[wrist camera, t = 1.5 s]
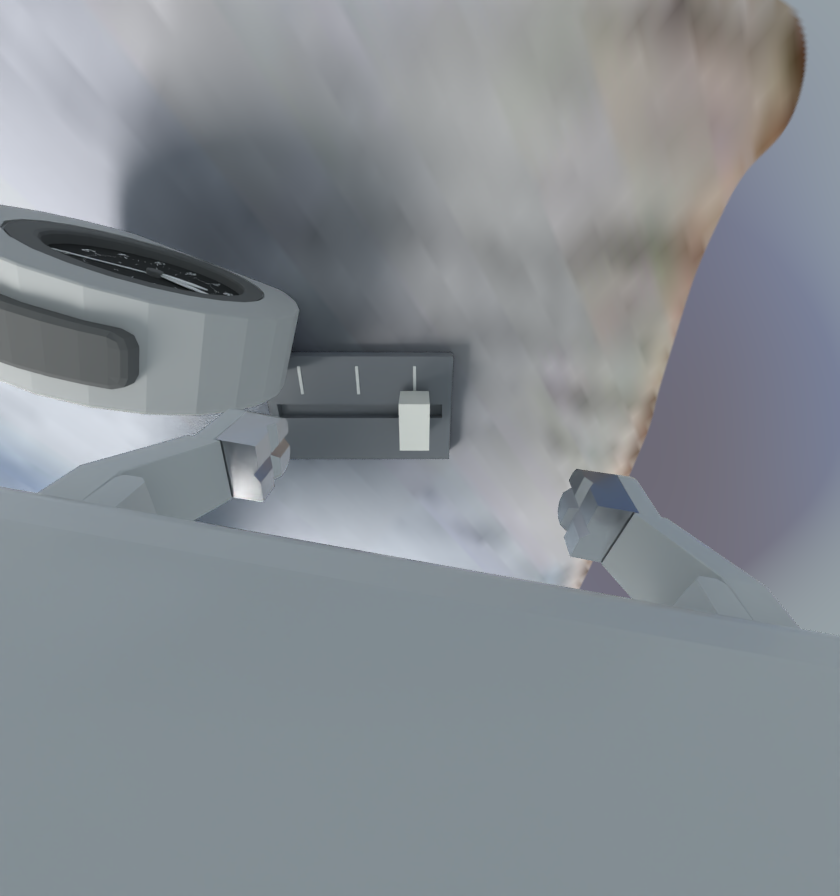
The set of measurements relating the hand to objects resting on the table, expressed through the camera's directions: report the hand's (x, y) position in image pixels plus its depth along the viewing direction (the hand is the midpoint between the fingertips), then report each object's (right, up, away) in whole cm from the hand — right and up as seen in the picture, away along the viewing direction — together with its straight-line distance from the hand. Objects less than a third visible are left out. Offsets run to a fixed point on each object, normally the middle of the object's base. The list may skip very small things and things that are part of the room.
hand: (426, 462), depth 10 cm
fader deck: (-7, +5, +31) cm, 32 cm away
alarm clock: (-22, +15, +26) cm, 37 cm away
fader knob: (-1, +5, +30) cm, 30 cm away
